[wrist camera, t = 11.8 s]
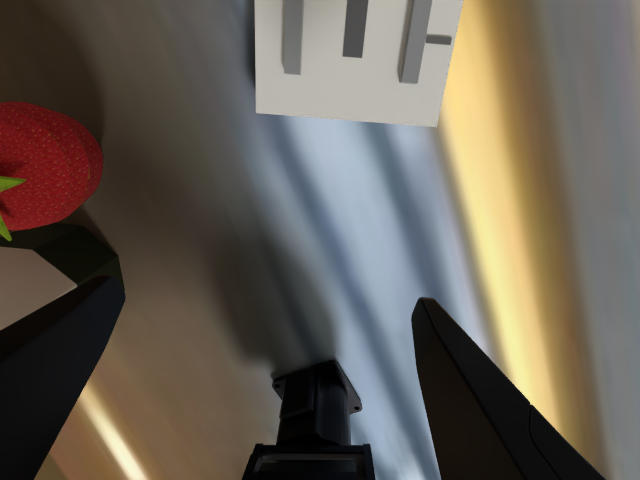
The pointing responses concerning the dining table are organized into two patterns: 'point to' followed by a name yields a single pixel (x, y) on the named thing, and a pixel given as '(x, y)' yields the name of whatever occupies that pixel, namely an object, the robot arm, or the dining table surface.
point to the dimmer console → (354, 58)
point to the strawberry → (43, 166)
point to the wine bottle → (48, 267)
